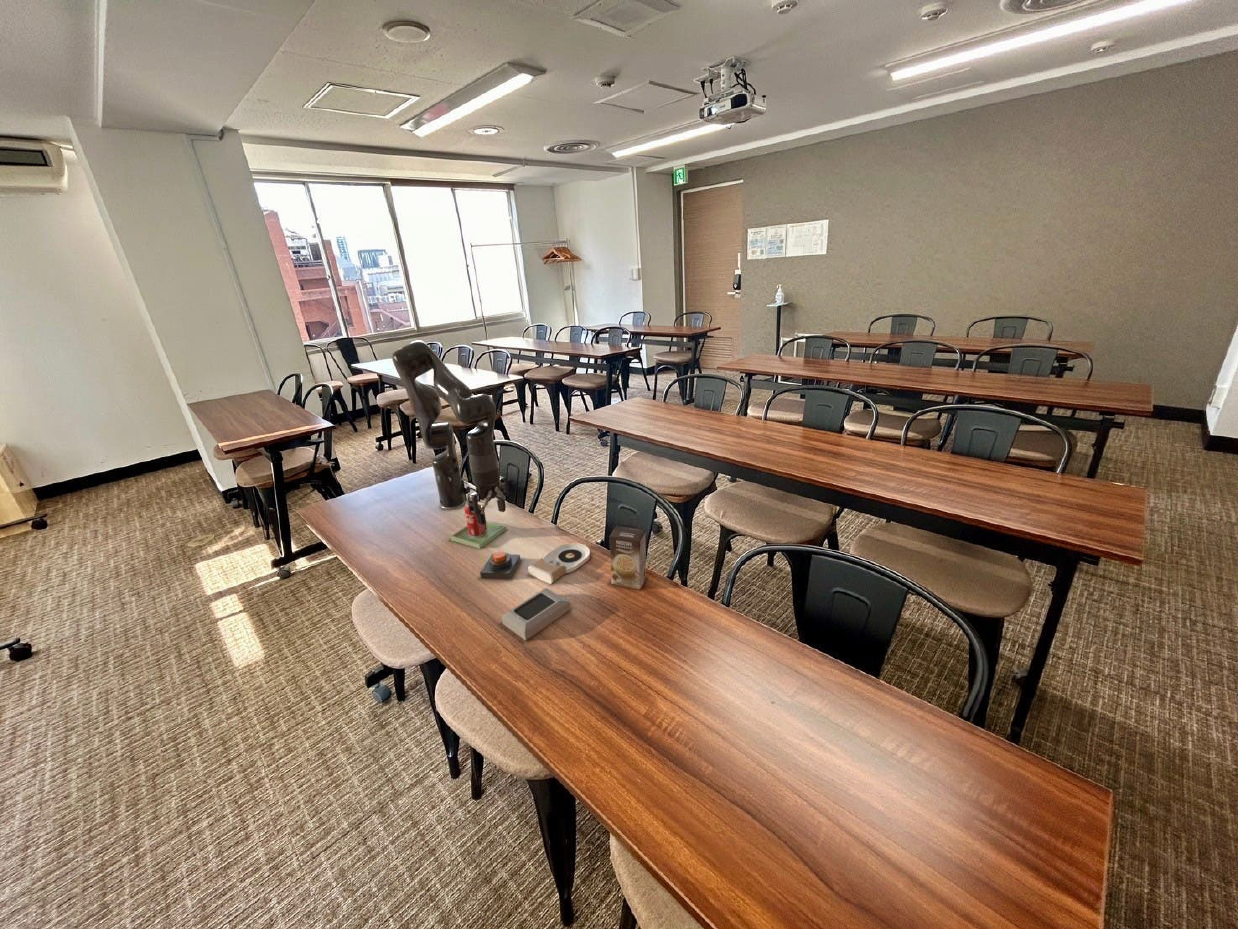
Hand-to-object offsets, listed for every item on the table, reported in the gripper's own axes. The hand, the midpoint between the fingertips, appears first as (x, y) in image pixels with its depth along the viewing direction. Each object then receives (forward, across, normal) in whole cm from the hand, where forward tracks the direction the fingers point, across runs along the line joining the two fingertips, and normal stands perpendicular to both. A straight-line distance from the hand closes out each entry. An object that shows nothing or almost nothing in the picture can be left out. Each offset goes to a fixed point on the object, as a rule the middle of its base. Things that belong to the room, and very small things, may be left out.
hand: (492, 517), depth 140 cm
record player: (+18, -11, +16) cm, 26 cm away
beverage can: (+18, -13, -21) cm, 31 cm away
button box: (+18, 0, 0) cm, 18 cm away
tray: (+18, -13, -21) cm, 31 cm away
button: (+15, 0, 0) cm, 15 cm away
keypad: (+18, +13, +23) cm, 32 cm away
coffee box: (+18, -11, +38) cm, 44 cm away
